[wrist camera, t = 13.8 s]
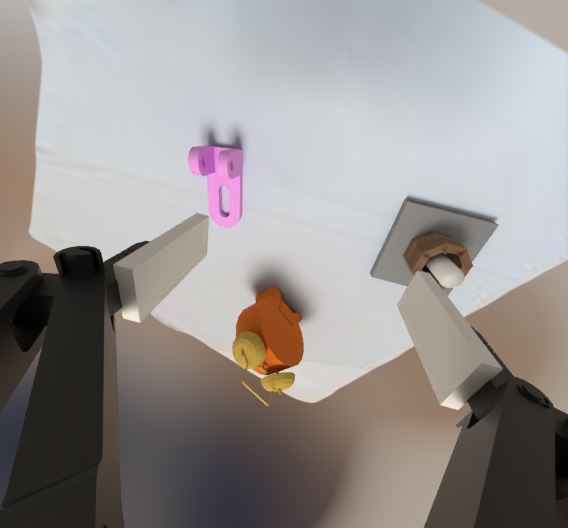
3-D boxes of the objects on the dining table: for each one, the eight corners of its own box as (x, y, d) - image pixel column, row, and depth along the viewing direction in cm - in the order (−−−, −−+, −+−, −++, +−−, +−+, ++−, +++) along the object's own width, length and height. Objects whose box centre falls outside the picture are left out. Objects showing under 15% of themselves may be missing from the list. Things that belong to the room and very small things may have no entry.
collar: (418, 227, 37) (430, 239, 33) (463, 239, 37) (482, 252, 33) (397, 266, 41) (405, 281, 37) (438, 277, 41) (452, 293, 36)
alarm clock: (248, 292, 51) (209, 373, 33) (271, 279, 48) (241, 360, 31) (285, 332, 55) (266, 423, 37) (307, 322, 52) (298, 415, 35)
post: (404, 199, 37) (428, 218, 29) (492, 221, 37) (541, 246, 28) (370, 272, 44) (380, 304, 36) (443, 291, 44) (471, 328, 35)
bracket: (209, 145, 38) (187, 147, 32) (242, 149, 37) (226, 152, 31) (213, 222, 44) (195, 236, 38) (242, 226, 44) (228, 241, 38)
